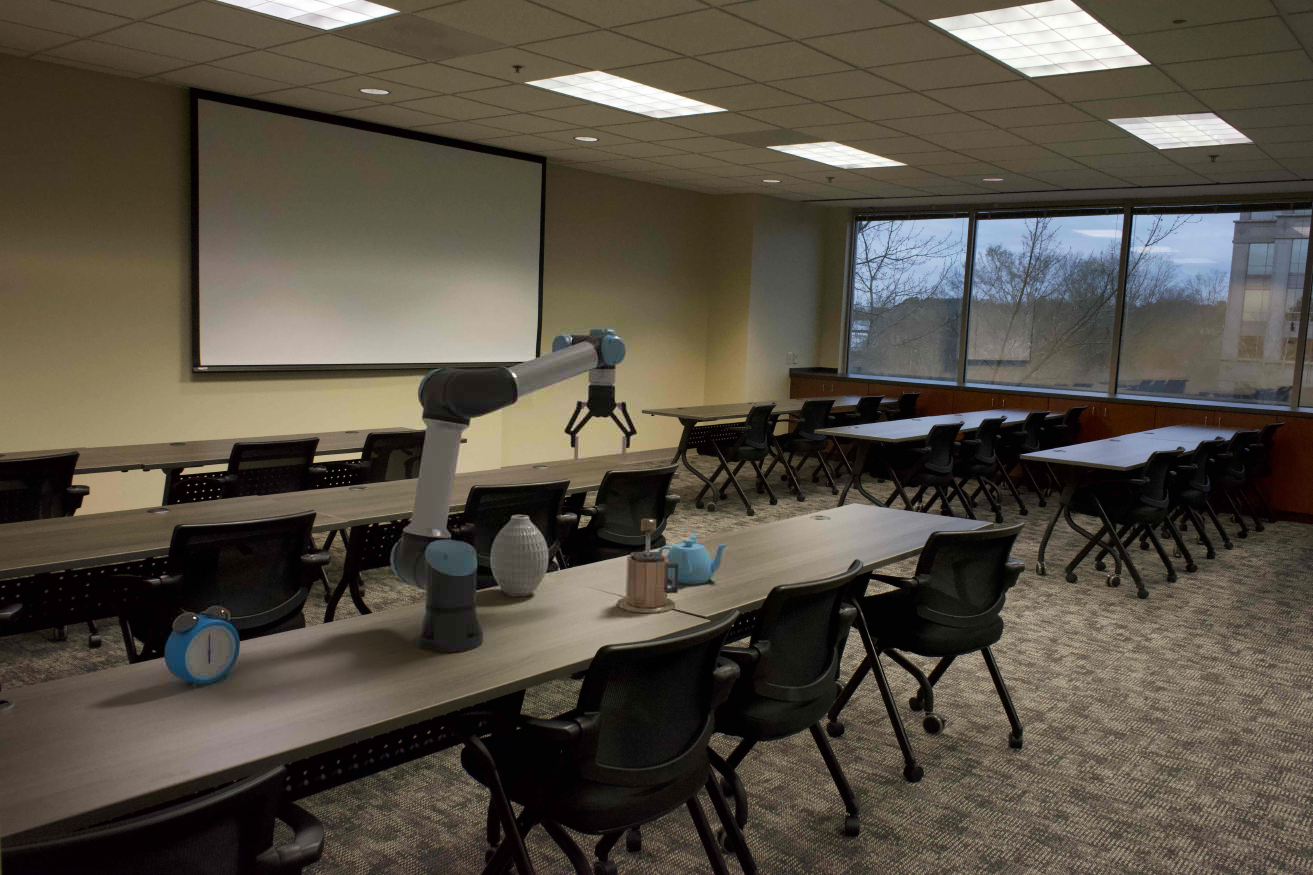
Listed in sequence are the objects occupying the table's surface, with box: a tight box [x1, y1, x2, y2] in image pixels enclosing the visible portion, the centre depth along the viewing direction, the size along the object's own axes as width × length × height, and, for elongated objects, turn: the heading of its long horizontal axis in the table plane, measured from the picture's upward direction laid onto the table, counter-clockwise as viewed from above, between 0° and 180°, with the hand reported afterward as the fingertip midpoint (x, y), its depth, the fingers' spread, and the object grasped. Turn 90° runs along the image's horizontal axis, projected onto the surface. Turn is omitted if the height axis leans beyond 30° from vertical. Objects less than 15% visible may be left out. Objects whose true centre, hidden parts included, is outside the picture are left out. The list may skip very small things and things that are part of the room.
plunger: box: [640, 518, 657, 562], centre depth 254 cm, size 7×7×20 cm
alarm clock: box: [163, 605, 241, 689], centre depth 189 cm, size 13×6×15 cm, turn 148°
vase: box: [489, 514, 549, 597], centre depth 263 cm, size 16×16×22 cm
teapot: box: [658, 533, 729, 585], centre depth 285 cm, size 17×19×12 cm
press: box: [616, 551, 679, 614], centre depth 255 cm, size 16×16×14 cm
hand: (600, 459), depth 262 cm, fingers open, 13 cm apart
